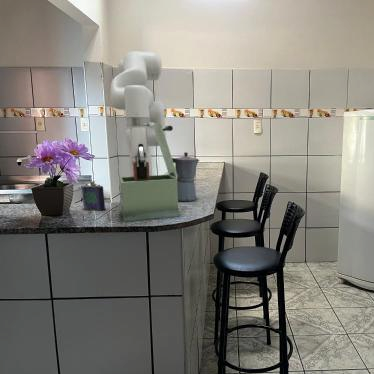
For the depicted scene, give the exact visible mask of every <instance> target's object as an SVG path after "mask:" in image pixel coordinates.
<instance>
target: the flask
mask: <svg viewBox="0 0 374 374" xmlns="http://www.w3.org/2000/svg"><path fill="white" fill-rule="evenodd" d="M95 182H96V180H93V181H89V184H90V185H89V184H88V185H82V186H81V192H82V206H83V210H85V211H86V210H88V211H105V210H106V204H105V195H104V186H103V185H100V184H96V183H95Z"/></svg>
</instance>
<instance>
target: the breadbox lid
mask: <svg viewBox="0 0 374 374" xmlns="http://www.w3.org/2000/svg"><path fill="white" fill-rule="evenodd" d="M152 125H153V127H154V130H155V133H156V136H157V139H158V142H159V146H158V147H159V149H160V151H161V155H162V158H163V160H164V161H163V162H164V163H165V167H166V170H167V173H168V175H169V174H170V175H172V176H173V177H174V178H176V179H177V177H178V176H177V172H176V167H175V163H173V160H172V158H173V157H172V154H171V151H170V148H169V147H170V146H169V145H168V142H167V137H166V138H165V135H164V132H163V131H166V132H171V131H173V125H165V128H164V129H162V125H161V123H159V124H155V123H153V124H152Z"/></svg>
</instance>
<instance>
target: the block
mask: <svg viewBox="0 0 374 374" xmlns="http://www.w3.org/2000/svg"><path fill="white" fill-rule="evenodd" d="M136 167H137V162H132V168H133V179H134V180H139V179H137V169H136ZM146 167H147V178H146V179H150V176H149V162H147V161H146Z"/></svg>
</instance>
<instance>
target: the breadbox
mask: <svg viewBox="0 0 374 374" xmlns="http://www.w3.org/2000/svg"><path fill="white" fill-rule="evenodd" d="M119 193H120V207H121V215H122V219H123V222H125V223H126V222H134V221H146V220H155V219H157V220H158V219H167V218H175V217H180V214H179V201H178V191H177V178H175V177H173V176H171V175H169V174H156V175H153V174H152V176H150V179H139V180H134V179H133V177H131V176H122V177H121V176H119Z"/></svg>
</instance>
